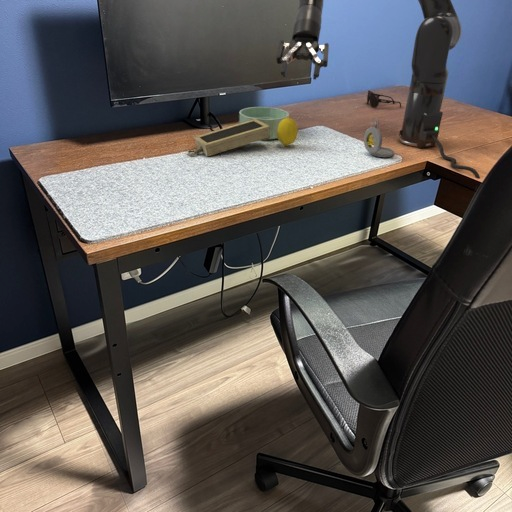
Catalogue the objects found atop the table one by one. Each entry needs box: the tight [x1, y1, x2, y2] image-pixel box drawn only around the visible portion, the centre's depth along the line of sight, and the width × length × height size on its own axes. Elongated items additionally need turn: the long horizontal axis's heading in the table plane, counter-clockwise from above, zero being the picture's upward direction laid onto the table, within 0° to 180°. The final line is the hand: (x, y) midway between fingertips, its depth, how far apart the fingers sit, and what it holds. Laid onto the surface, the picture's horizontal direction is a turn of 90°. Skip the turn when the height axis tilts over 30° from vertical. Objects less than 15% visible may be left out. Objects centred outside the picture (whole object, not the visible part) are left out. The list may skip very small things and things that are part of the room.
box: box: [187, 119, 270, 157], centre depth 128 cm, size 8×22×5 cm, turn 119°
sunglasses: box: [366, 90, 402, 109], centre depth 178 cm, size 10×12×5 cm
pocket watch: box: [363, 117, 395, 158], centre depth 127 cm, size 8×8×10 cm
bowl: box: [238, 106, 290, 141], centre depth 141 cm, size 14×14×6 cm
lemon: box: [277, 116, 299, 147], centre depth 131 cm, size 6×6×8 cm
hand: (299, 76), depth 134 cm, fingers open, 8 cm apart
